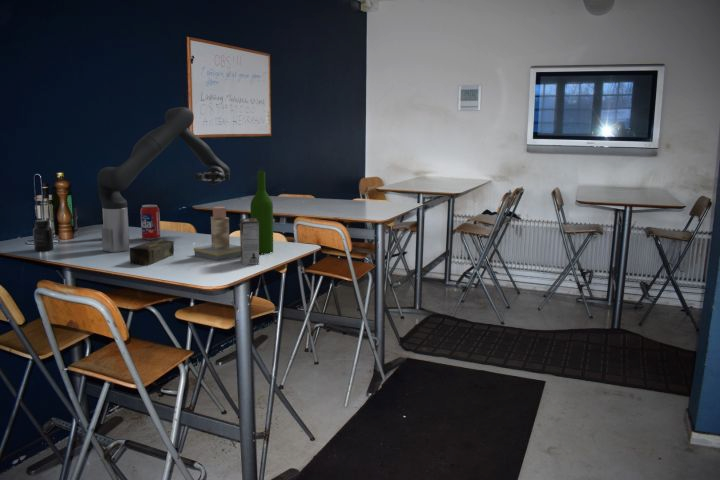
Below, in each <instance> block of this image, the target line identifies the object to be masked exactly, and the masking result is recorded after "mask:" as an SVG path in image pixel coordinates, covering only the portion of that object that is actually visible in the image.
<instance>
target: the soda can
mask: <svg viewBox="0 0 720 480" xmlns="http://www.w3.org/2000/svg"><path fill="white" fill-rule="evenodd" d="M160 218H161V216H160V208H159V207H158V205H157V204H144V205H143V204H142V205H141V208H140V228H141V229H140V230H141V238H142V239H143V240H145V239H146V240H147V241H155V240H157V239H161V221H160V220H161V219H160ZM146 240H145V241H146Z"/></svg>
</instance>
